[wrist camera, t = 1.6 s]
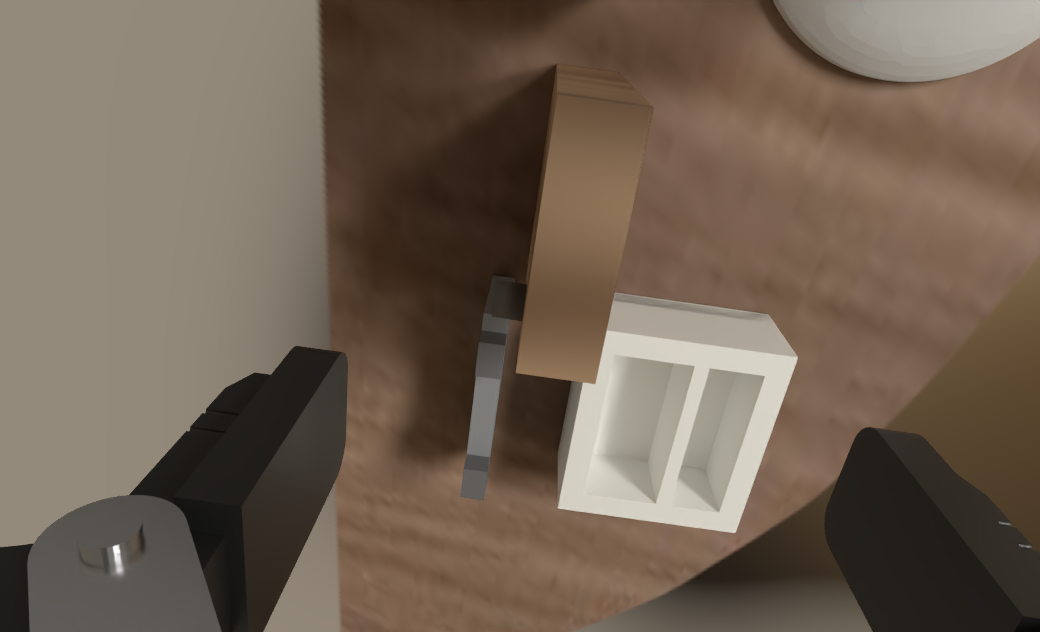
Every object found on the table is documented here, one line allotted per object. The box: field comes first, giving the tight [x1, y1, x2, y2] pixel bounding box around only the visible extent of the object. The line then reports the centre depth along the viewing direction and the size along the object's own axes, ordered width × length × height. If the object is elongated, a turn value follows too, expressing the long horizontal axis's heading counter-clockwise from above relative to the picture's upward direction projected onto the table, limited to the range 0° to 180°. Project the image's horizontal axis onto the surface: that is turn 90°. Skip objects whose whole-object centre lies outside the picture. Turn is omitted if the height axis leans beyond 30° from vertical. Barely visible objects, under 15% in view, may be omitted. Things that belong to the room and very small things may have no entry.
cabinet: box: [461, 275, 798, 533], centre depth 29 cm, size 9×12×5 cm
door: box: [492, 64, 653, 384], centre depth 23 cm, size 8×3×10 cm, turn 172°
